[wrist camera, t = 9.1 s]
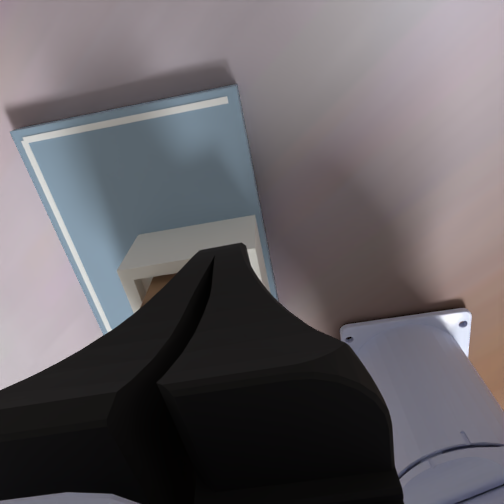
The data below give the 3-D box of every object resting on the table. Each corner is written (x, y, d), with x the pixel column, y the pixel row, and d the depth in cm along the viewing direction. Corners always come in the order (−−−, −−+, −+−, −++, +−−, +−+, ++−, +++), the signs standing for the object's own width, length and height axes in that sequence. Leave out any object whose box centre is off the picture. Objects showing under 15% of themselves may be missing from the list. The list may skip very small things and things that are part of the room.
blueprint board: (281, 318, 25) (287, 374, 21) (116, 342, 26) (89, 400, 22) (237, 83, 19) (232, 96, 15) (20, 127, 20) (-44, 151, 16)
